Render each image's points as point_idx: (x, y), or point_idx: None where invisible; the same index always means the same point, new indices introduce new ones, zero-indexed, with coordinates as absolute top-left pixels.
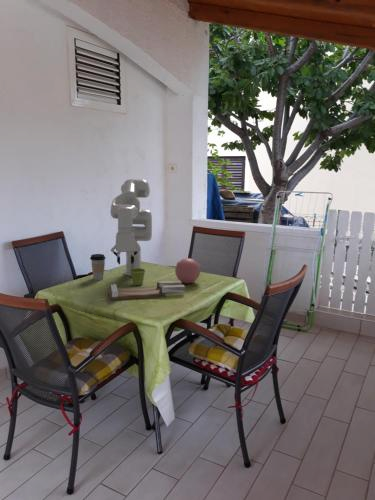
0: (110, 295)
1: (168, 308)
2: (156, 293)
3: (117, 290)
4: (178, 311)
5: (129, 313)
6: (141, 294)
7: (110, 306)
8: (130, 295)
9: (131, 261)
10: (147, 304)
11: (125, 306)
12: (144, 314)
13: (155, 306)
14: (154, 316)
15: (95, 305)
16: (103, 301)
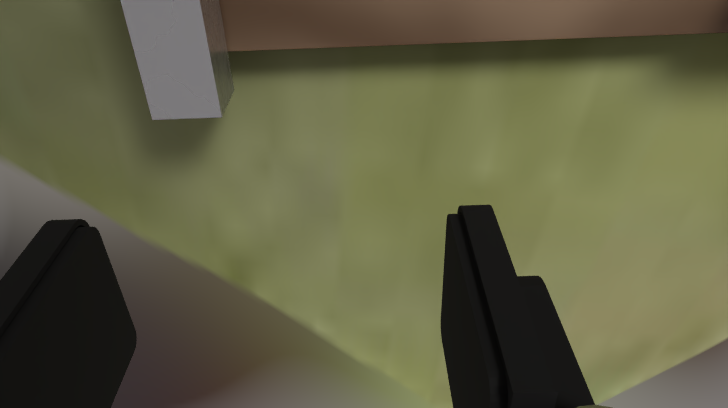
0: None
1: (648, 287)
2: (698, 15)
3: (213, 80)
4: (689, 337)
5: (344, 333)
6: (511, 30)
7: (188, 203)
8: (378, 45)
9: (450, 372)
10: (513, 196)
11: (318, 217)
12: (444, 355)
13: (565, 243)
14: None
15: (44, 167)
16: (91, 72)
